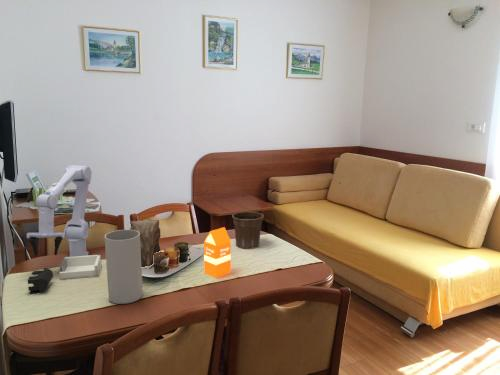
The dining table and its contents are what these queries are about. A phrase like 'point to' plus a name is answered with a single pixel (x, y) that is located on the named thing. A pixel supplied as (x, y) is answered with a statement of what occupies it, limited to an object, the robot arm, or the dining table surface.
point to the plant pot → (247, 229)
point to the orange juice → (217, 253)
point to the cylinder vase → (123, 266)
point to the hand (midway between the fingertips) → (46, 254)
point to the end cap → (40, 281)
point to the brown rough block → (147, 239)
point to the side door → (63, 266)
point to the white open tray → (81, 267)
